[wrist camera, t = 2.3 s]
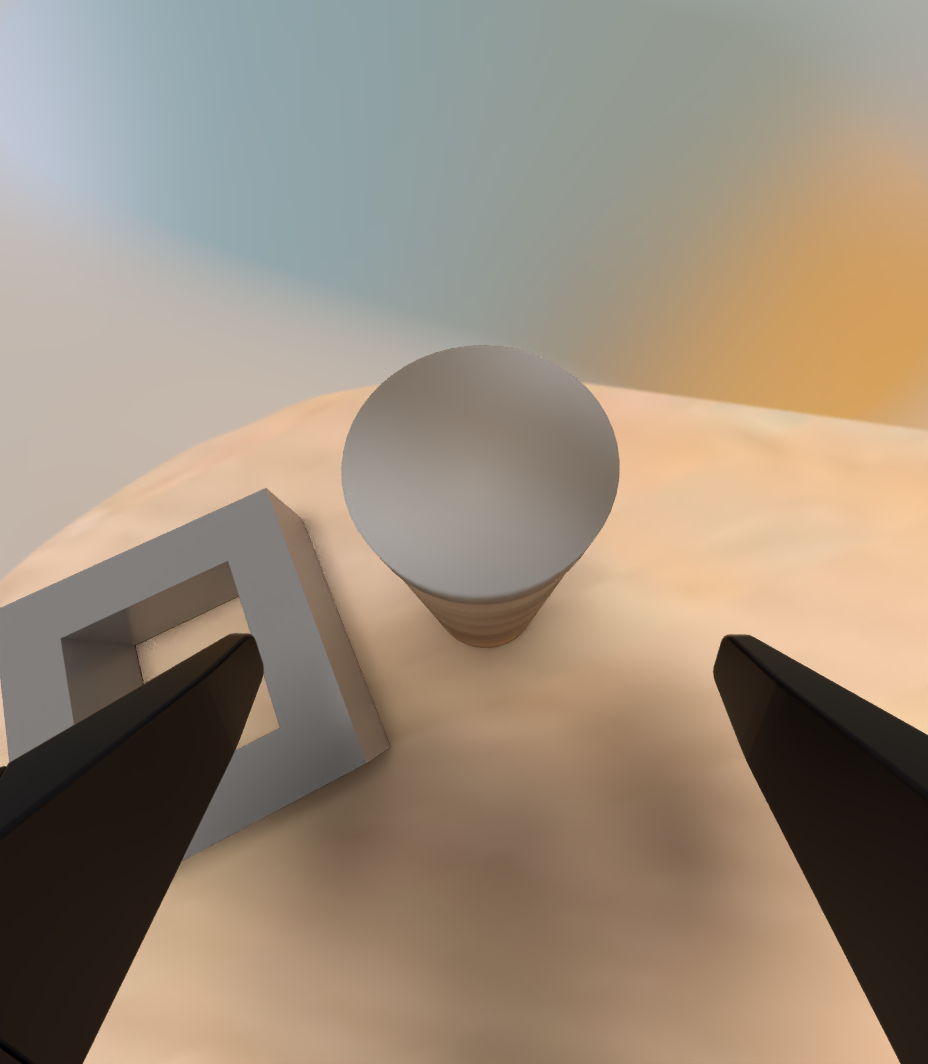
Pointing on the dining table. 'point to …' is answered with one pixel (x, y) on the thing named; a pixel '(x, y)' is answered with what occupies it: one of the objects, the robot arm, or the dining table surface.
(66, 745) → the robot arm
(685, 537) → the dining table surface
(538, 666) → the dining table surface
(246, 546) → the grey square frame
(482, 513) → the post
